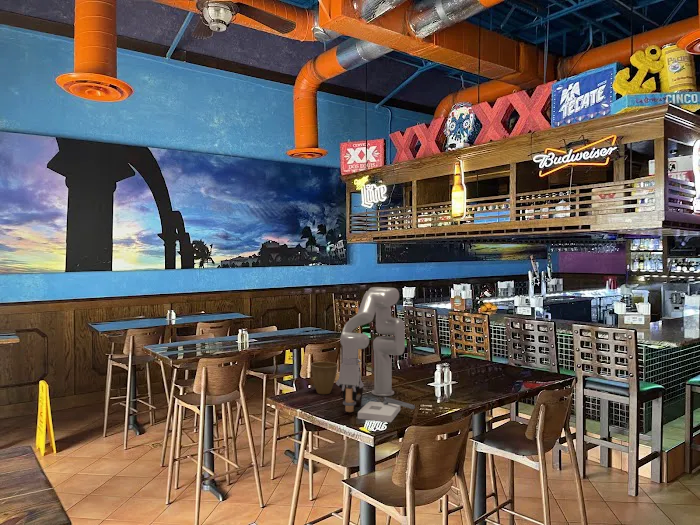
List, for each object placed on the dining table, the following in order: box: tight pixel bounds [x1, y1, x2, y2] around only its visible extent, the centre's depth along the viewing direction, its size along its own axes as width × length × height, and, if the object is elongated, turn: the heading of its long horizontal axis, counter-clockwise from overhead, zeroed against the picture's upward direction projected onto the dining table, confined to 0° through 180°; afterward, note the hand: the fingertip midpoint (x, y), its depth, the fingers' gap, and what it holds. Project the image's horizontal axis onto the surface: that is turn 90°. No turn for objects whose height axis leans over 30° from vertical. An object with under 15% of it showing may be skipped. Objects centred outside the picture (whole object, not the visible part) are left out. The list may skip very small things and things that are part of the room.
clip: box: [382, 396, 416, 410], centre depth 254 cm, size 19×2×3 cm, turn 42°
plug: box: [342, 385, 356, 413], centre depth 253 cm, size 6×6×12 cm
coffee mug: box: [339, 384, 364, 409], centre depth 267 cm, size 12×9×10 cm
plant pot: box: [310, 361, 339, 395], centre depth 291 cm, size 15×15×16 cm
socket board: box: [357, 400, 401, 423], centre depth 253 cm, size 20×16×3 cm
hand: (349, 398), depth 253 cm, fingers closed on plug, 3 cm apart
